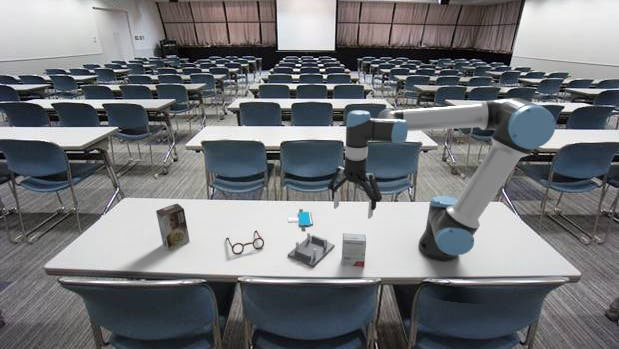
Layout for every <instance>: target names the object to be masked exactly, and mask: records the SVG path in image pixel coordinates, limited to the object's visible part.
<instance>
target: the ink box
mask: <svg viewBox="0 0 619 349" xmlns="http://www.w3.org/2000/svg"><path fill="white" fill-rule="evenodd" d="M366 238H367V237H366V234H364V233H349V232H348V233H342V242H341V243H342V247H341V266H342V267H360V268H361V267H362V268H364V267H365V263H366V262H365V261H366V249H367V239H366Z"/></svg>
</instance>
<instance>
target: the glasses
mask: <svg viewBox="0 0 619 349" xmlns="http://www.w3.org/2000/svg"><path fill="white" fill-rule="evenodd" d="M253 233H254V234H256V235H257V237H256V238H254V240H253V241H252V242H251V241H250V242H246V243H244V244H243V243H241V242H236V243H234V244H233V245H232V243H231V241H230V238H229V237H226V238H225V240H227V241H228V244H229V245H230V247H231V252H232V253H233V254H234V255H241V254H242V253H243V252H244V248H245V246H248V245H252V247H253V249H255V250H261V249H262V248H263V247H264V245H265V241H264V239H263V238H262V237H261V235H260V234H259V232H258V230H257V229H256V230H255V231H254V232H253ZM258 240H261V242H262V244H261V245H260V247H256V246H255V242H257V241H258ZM238 245H240V246H242V247H241V251H240V252H235V251H234V249H235V247H236V246H238Z"/></svg>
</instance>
